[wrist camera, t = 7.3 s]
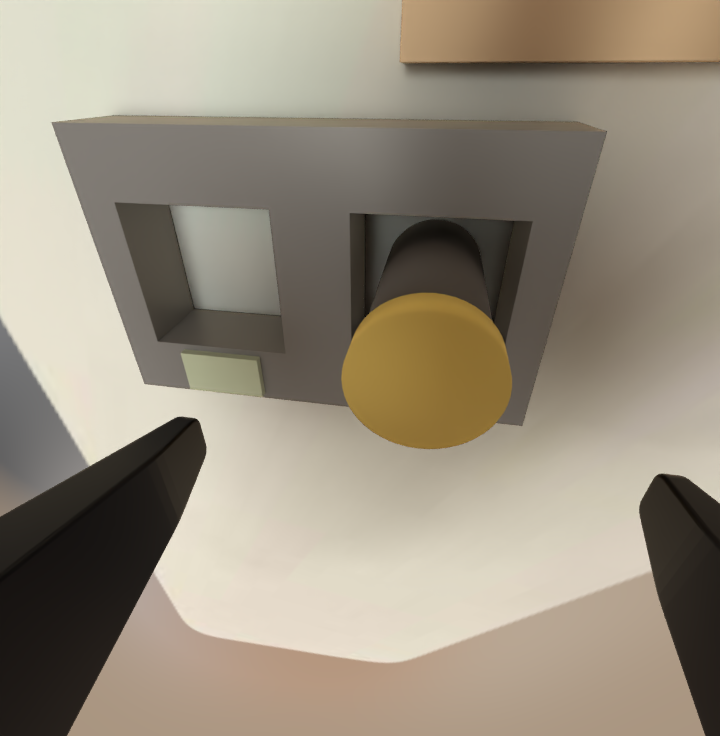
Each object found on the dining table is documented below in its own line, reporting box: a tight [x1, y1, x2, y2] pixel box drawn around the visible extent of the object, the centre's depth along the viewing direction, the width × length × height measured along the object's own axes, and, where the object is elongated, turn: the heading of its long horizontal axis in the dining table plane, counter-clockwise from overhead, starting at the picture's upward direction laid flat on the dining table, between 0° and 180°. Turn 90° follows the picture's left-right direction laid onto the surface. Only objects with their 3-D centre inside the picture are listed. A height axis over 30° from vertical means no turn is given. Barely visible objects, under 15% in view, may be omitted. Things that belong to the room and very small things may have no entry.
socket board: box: [52, 115, 607, 426], centre depth 16 cm, size 16×10×3 cm, turn 90°
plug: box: [341, 220, 512, 449], centre depth 13 cm, size 4×4×8 cm
